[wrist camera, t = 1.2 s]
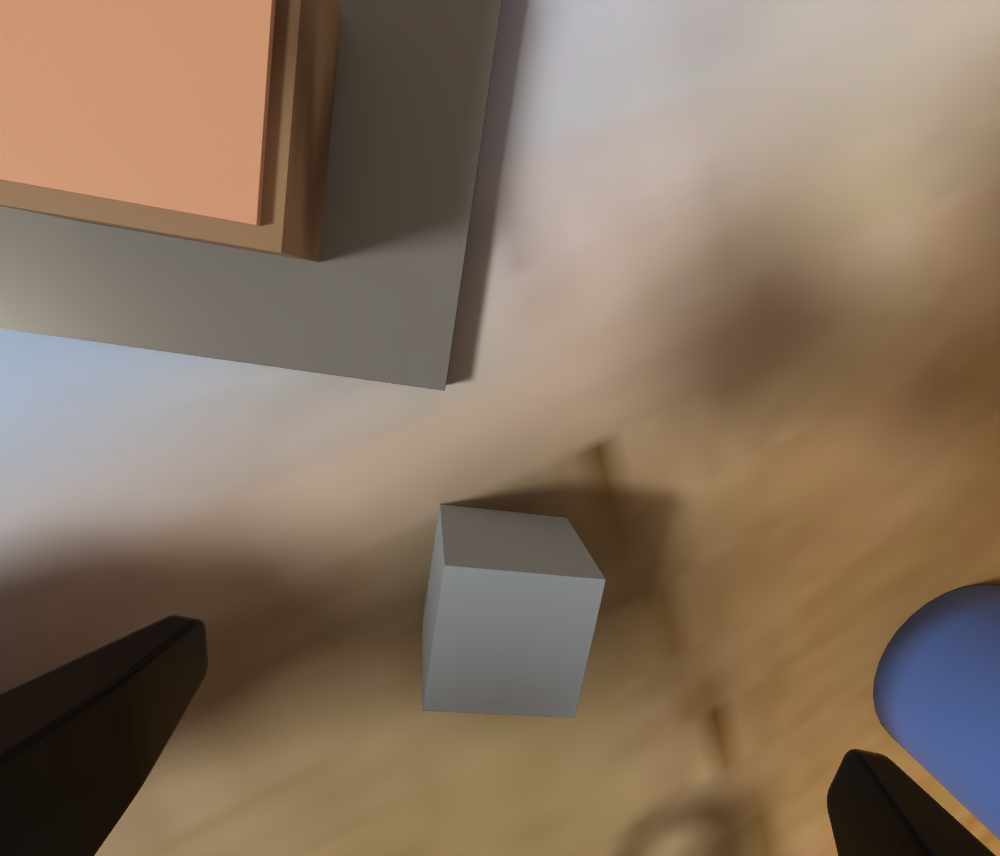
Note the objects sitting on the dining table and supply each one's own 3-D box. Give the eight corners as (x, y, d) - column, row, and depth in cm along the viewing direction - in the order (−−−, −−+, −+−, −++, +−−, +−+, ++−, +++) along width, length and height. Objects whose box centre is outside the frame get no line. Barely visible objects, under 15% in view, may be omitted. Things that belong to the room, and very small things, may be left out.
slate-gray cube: (543, 629, 23) (574, 717, 19) (422, 620, 23) (422, 710, 18) (566, 516, 22) (605, 579, 18) (439, 503, 22) (444, 565, 17)
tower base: (443, 385, 20) (453, 427, 14) (-66, 313, 18) (-319, 326, 12) (508, -63, 17) (555, -250, 11) (-93, -230, 15) (-452, -591, 9)
